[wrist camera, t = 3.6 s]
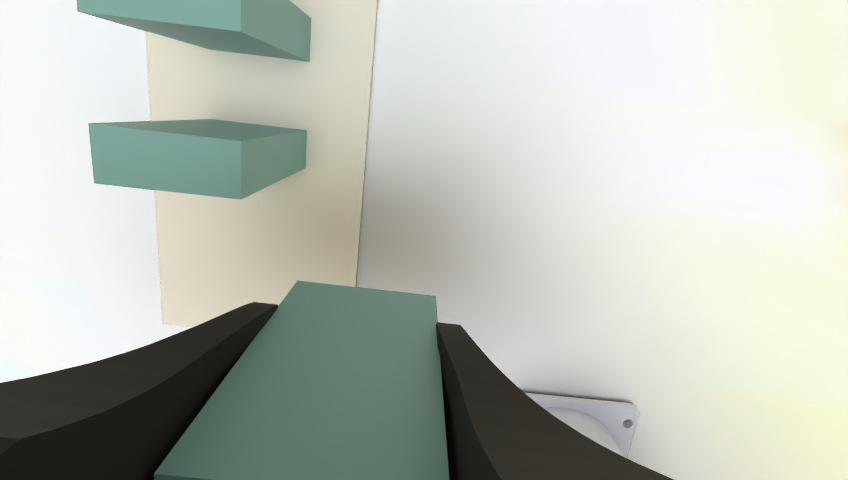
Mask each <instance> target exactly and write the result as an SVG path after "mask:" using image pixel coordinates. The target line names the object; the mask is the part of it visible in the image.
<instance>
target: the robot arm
mask: <svg viewBox="0 0 848 480" xmlns="http://www.w3.org/2000/svg"><path fill="white" fill-rule="evenodd" d="M277 309H278V305H277V304H268V303H259V302H252V303H249V304H246V305H243V306H241V307H238V308H236V309H234V310H231V311H229V312H227V313H224V314H222V315H220V316H218V317H215V318H213V319H211V320H209V321H206V322H204V323H202V324H200V325H197V326H195V327H193V328H190V329H188V330H185V331H183V332H180V333H178V334H175V335H173V336H170V337H168V338H165V339H163V340H160V341H157V342H155V343H152V344H150V345H147V346H144V347H141V348H138V349H135V350H132V351H129V352H126V353H123V354H120V355H116V356H113V357H110V358H107V359H103V360H100V361H96V362H93V363H89V364H85V365H81V366H76V367H72V368H68V369H64V370H60V371H56V372H51V373H47V374H43V375H39V376H34V377H30V378H25V379H19V380H14V381H9V382H4V383H0V480H154V473H155V472H156V470H157V469H158V468H159V466H160V465H161V464H162V462H163V461H164V459H165V458H166V457H167V455H168V454H169V453H170V451H171V450H172V449H173V447H174V446H175V445H176V443H177V442H178V441H179V439H180V438H181V437H182V435H183V434H184V433H185V431H186V430H187V428H188V427H189V426H190V424H191V423H192V422H193V420H194V419H195V418H196V416H197V415H198V414H199V412H200V411H201V410H202V408H203V407H204V406H205V404H206V403H207V402H208V400H209V399H210V397H211V396H212V395H213V393H214V392H215V391H216V389H217V388H218V387H219V385H220V384H221V383H222V381H223V380H224V379H225V377H226V376H227V375H228V373H229V372H230V371H231V369H232V368H233V366H234V365H235V364H236V362H237V361H238V360H239V358H240V357H241V356H242V354H243V353H244V352H245V350H246V349H247V348H248V346H249V345H250V344H251V342H252V341H253V340H254V338H255V337H256V335H257V334H258V333H259V332H260V331H261V330H262V329H263V327H264V326H265V325H266V324H267V322H268V321H269V319H270V318H271V317H272V315H273V314H274V313H275V311H276V310H277ZM436 332H437V347H438V351H439V355H440V362H441V375H442V389H443V402H444V416H445V429H446V443H447V456H448V470H449V480H673V479H671V478H669V477H666V476H664V475H662V474H660V473H657V472H655V471H653V470H651V469H648V468H646V467H644V466H641V465H639V464H637V463H635V462H633V461H631V460H629V459H627V455H628V452H629V448H630V445H631V442H632V438H633V435H634V432H635V428H636V425H637V422H638V418H639V411H638V409H637V408H636V406H635V405H634V404H631V403H625V402H614V401H604V400H594V399H584V398H574V397H563V396H553V395H543V394H533V393H524V392H523V391H521V390H520V389H519V388H518V387H517V386H516V385H515V384H514V383H513V382H512V381H510V380H509V379H508V378H507V377H506V376H505V375H504V374H503V373H502V372H501V371H500V370H499V369H498V368H497V367H496V366H495V365H494V364H493V363H492V362H491V361H490V359H489V358H488V357H487V356H486V355H485V354H484V353H483V352H482V350H481V349H480V348H479V347H478V346H477V345H476V343H475V342H474V341H473V340H472V339H471V337H470V336H469V335H468V334H467V332H466V331H465V330H464V329H463V328H462V327H461V325H455V324H446V323H438V322H437V323H436ZM628 419H629V420H628ZM625 420H628V422H626V423H623V422H624V421H625Z"/></svg>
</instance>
